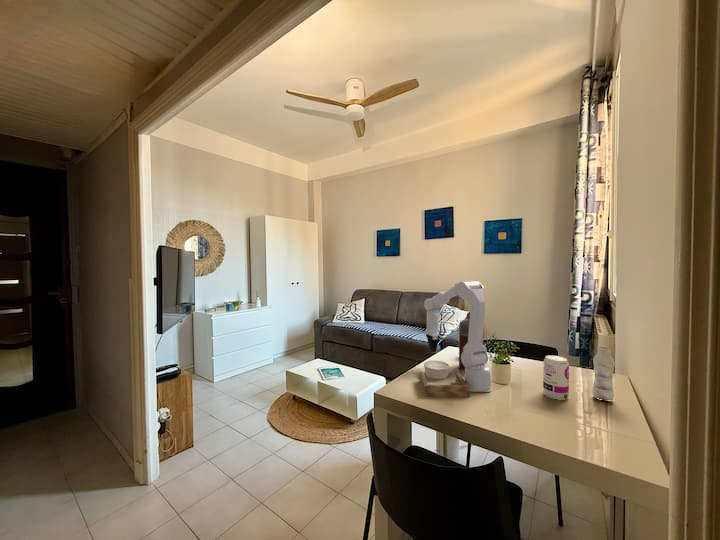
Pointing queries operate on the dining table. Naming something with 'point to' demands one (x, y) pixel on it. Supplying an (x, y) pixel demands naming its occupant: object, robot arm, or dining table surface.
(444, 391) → the shallow wooden tray
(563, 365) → the supplement can
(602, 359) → the plastic bottle
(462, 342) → the dark red bottle
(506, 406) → the dining table surface
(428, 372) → the ramekin
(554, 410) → the dining table surface
